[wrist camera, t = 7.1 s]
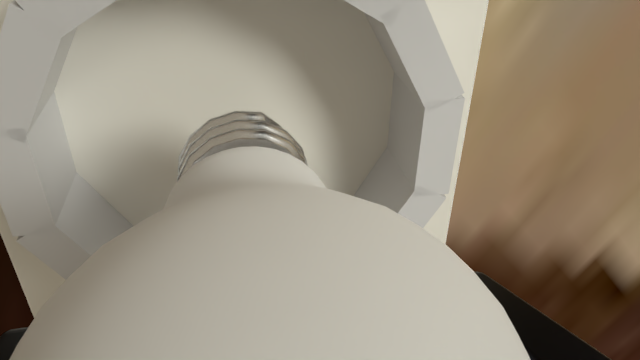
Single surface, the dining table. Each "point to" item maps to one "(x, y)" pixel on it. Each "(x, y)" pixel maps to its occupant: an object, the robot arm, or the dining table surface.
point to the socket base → (220, 107)
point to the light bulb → (269, 272)
